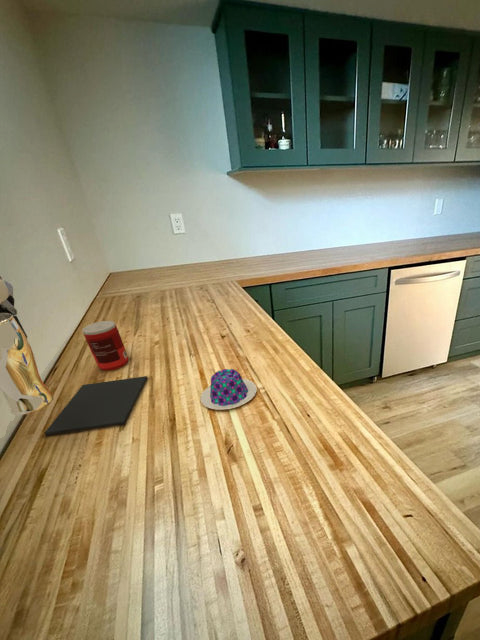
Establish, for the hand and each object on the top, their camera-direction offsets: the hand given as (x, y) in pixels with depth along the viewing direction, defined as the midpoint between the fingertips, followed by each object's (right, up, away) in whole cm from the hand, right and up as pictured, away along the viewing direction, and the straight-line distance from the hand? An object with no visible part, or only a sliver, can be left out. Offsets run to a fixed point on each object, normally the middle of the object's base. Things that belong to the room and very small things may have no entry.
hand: (1, 350), depth 51 cm
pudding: (+30, -8, +21) cm, 38 cm away
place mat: (+2, -10, +22) cm, 25 cm away
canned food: (-4, -1, +39) cm, 40 cm away
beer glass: (+1, -9, +5) cm, 10 cm away
